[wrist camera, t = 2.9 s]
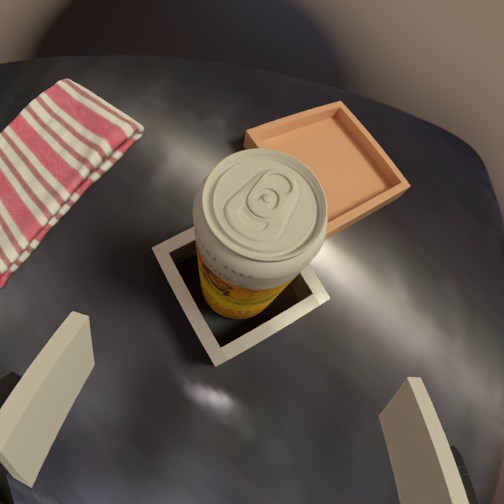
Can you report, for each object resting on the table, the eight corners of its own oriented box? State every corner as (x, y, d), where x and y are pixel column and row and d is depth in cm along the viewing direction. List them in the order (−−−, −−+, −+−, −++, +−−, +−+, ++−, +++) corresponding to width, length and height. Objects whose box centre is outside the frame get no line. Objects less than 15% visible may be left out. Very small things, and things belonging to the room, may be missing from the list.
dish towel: (-50, 207, 26) (-65, 195, 23) (71, 84, 34) (65, 66, 30) (2, 298, 24) (-17, 289, 21) (151, 135, 32) (147, 114, 29)
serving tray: (243, 146, 32) (245, 130, 30) (334, 114, 35) (340, 100, 33) (312, 247, 29) (320, 237, 27) (399, 197, 32) (410, 186, 30)
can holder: (158, 261, 27) (151, 247, 24) (257, 212, 30) (263, 193, 26) (215, 366, 25) (215, 366, 21) (316, 306, 27) (330, 298, 24)
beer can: (186, 293, 26) (161, 213, 12) (228, 237, 28) (246, 121, 14) (247, 334, 26) (291, 301, 12) (285, 276, 28) (357, 189, 14)
